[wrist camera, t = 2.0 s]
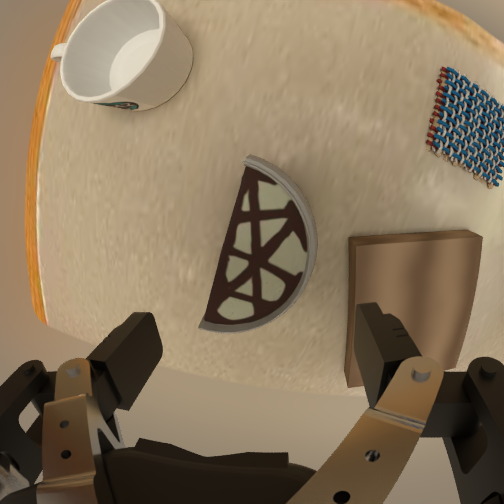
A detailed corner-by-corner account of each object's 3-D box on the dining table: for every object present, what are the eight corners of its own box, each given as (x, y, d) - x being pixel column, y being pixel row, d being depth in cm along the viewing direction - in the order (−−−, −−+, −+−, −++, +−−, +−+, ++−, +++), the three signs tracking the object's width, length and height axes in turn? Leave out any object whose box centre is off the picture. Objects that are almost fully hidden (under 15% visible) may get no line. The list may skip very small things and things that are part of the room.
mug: (210, 27, 21) (183, -13, 14) (179, 120, 24) (139, 106, 17) (105, 29, 22) (64, 6, 14) (79, 109, 25) (29, 102, 17)
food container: (284, 299, 28) (280, 361, 19) (225, 280, 29) (196, 334, 19) (326, 179, 25) (350, 187, 15) (261, 158, 25) (245, 152, 15)
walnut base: (467, 229, 24) (482, 236, 21) (446, 353, 28) (455, 367, 25) (348, 237, 26) (355, 246, 23) (344, 370, 30) (347, 387, 27)
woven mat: (437, 63, 20) (445, 58, 18) (504, 111, 19) (514, 110, 17) (419, 148, 23) (428, 147, 21) (489, 191, 22) (500, 193, 21)
